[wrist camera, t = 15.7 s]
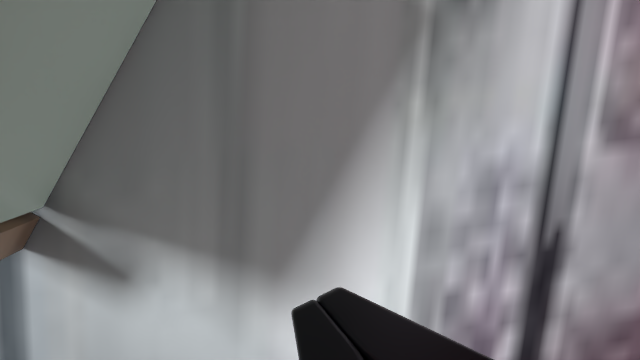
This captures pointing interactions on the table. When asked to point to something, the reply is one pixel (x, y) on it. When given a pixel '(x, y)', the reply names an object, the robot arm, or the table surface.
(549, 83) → the table surface
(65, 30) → the tray
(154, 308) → the table surface
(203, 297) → the table surface
